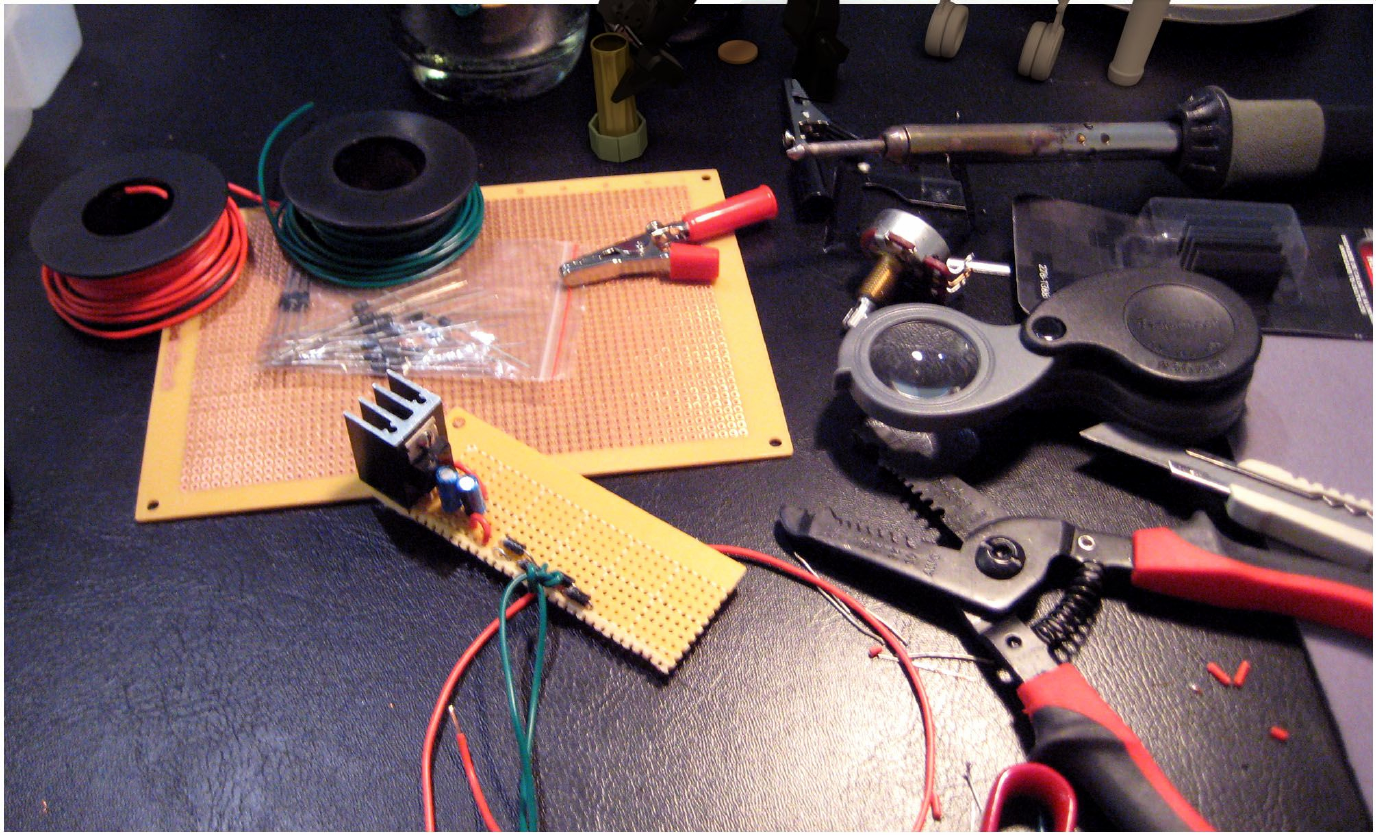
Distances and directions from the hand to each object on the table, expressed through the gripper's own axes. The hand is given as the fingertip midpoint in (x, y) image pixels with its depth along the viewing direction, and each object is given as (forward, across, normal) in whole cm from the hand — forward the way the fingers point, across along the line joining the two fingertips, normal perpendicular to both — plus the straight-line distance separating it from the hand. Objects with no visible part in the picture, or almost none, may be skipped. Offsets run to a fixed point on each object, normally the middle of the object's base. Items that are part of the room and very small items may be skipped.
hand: (605, 91), depth 132 cm
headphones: (-37, +6, +52) cm, 64 cm away
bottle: (-49, +19, +64) cm, 83 cm away
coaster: (-13, -15, +27) cm, 34 cm away
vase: (+4, 0, +6) cm, 7 cm away
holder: (+6, 0, +7) cm, 9 cm away
